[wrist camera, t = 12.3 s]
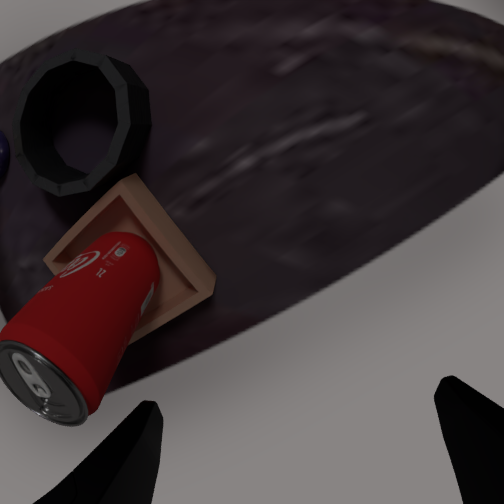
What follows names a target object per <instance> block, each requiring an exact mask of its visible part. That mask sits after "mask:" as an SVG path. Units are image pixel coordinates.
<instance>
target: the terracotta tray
mask: <svg viewBox="0 0 504 504" xmlns="http://www.w3.org/2000/svg"><path fill="white" fill-rule="evenodd" d="M117 231H119V232H132V233H135V234H137V235H139V236H141V237H143V238H144V239H145V240H146V241H148V243H149V244H150V245H151V246H152V247H153V249H154V251H155V253H156V255H157V258H158V264H159V269H160V280H159V284H158V287H157V289H156V291H155V293H154V295H153V297H152V299H151V300H150V302H149V304H148V306H147V308H146V310H145V312H144V314H143V316H142V318H141V320H140V322H139V324H138V326H137V328H136V329H135V331H134V333H133V335H132V337H131V339H130V341H129V343H128V345H130V344H131V343H133V342H135V341H136V340H138V339H140V338H141V337H143V336H145V335H146V334H148V333H150V332H151V331H153V330H155V329H156V328H158V327H160V326H161V325H163V324H165V323H166V322H168V321H170V320H171V319H173V318H175V317H176V316H178V315H180V314H181V313H183V312H185V311H186V310H188V309H190V308H191V307H193V306H195V305H196V304H198V303H200V302H201V301H203V300H204V299H206V298H208V297H209V296H211V295H212V294H213V290H214V285H215V281H216V277H217V276H216V274H215V273H214V272H213V271H212V269H211V268H210V267H209V266H208V265H207V263H206V262H205V261H204V260H203V258H202V257H201V256H200V255H199V253H198V252H197V251H196V250H195V248H194V247H193V246H192V245H191V243H190V242H189V241H188V240H187V238H186V237H185V236H184V235H183V233H182V232H181V231H180V230H179V228H178V227H177V226H176V224H175V223H174V222H173V221H172V219H171V218H170V217H169V216H168V214H167V213H166V212H165V210H164V209H163V208H162V207H161V205H160V204H159V203H158V201H157V200H156V199H155V197H154V196H153V195H152V194H151V192H150V191H149V190H148V188H147V187H146V186H145V184H144V183H143V182H142V180H141V179H140V178H139V176H138V175H137V174H136V173H134V174H132V175H130V176H128V177H125V178H123V179H121V180H120V181H119V182H117V183H116V184H115V185H114V186H113V187H112V188H111V189H110V190H109V191H108V192H107V193H106V194H105V195H104V196H103V197H101V198H100V199H99V200H98V201H97V202H96V203H95V204H94V205H93V206H92V207H91V208H90V209H89V210H88V211H87V212H86V213H85V214H84V215H83V216H82V217H81V218H80V219H79V220H78V221H77V222H76V223H75V224H74V226H73V227H72V228H71V229H70V230H69V231H68V232H67V233H66V234H65V235H64V236H63V237H62V238H61V239H60V241H59V242H58V243H57V244H56V245H55V246H54V247H53V248H52V249H51V251H50V252H49V253H48V254H47V255H46V256H45V257H44V259H43V261H44V262H45V263H46V265H47V266H48V267H49V268H50V270H51V271H52V272H53V273H54V275H55V276H56V275H57V274H58V273H59V272H60V271H61V270H62V269H64V268H65V267H66V266H67V265H68V264H69V263H70V262H71V261H72V260H74V259H75V258H76V257H77V256H78V255H79V254H80V253H82V252H83V251H84V250H85V249H86V248H87V247H88V246H90V245H91V244H92V243H93V242H94V241H96V240H97V239H98V238H99V237H101V236H102V235H104V234H106V233H109V232H117Z"/></svg>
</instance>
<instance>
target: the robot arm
mask: <svg viewBox="0 0 504 504" xmlns="http://www.w3.org/2000/svg"><path fill="white" fill-rule="evenodd" d="M434 402H435V405H436V409H437V413H438V417H439V422H440V426H441V430H442V434H443V438H444V441H445V444H446V447H447V450H448V453H449V456H450V459H451V462H452V466H453V469H454V472H455V475H456V479H457V482H458V486H459V489H460V493H461V497H462V501H463V504H504V408H502V407H501V406H499V405H498V404H496V403H495V402H493V401H492V400H490V399H489V398H487V397H486V396H484V395H482V394H481V393H479V392H478V391H477V390H475V389H474V388H472V387H470V386H469V385H467V384H466V383H464V382H462V381H461V380H460V379H458V378H457V377H455V376H447V377H444V378H443V379H441V381H440V383H439V385H438V388H437V390H436V392H435V394H434ZM162 432H163V416H162V414H161V412H160V409H159V407H158V404H157V403H156V402H155V401H146V400H144V401H142V402H141V403H140V404H139V405H138V406H137V407H136V408H135V409H134V410H133V411H132V412H131V413H130V414H129V415H128V416H127V417H126V418H125V419H124V420H123V421H122V422H121V423H120V424H119V425H118V426H117V427H116V428H115V429H114V430H113V431H112V432H111V433H110V434H109V435H108V436H107V437H106V438H105V439H104V440H103V441H102V442H101V443H100V444H99V445H98V446H97V447H96V448H95V449H94V450H93V451H92V452H91V453H90V454H89V455H88V456H87V457H86V458H85V459H84V460H83V461H82V462H81V463H80V464H79V465H78V466H77V467H76V468H75V469H74V470H73V471H72V472H71V473H70V474H68V475H67V477H65V478H64V479H63V480H62V481H61V482H60V483H59V484H58V485H57V486H55V487H54V488H53V489H52V490H51V491H49V492H48V493H47V494H46V495H44V496H43V497H41V498H40V499H39V500H37V501H36V502H34V503H33V504H151V502H152V497H153V493H154V488H155V483H156V478H157V474H158V469H159V464H160V453H161V442H162Z"/></svg>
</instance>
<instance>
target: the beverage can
mask: <svg viewBox="0 0 504 504" xmlns="http://www.w3.org/2000/svg"><path fill="white" fill-rule="evenodd" d="M159 280H160V269H159V264H158V258H157V255H156V253H155V251H154V249H153V247H152V246H151V245H150V244H149V243H148V241H146V240H145V239H144V238H143V237H141V236H139V235H137V234H135V233H132V232H119V231H117V232H109V233H106V234H104V235H102V236H101V237H99V238H98V239H97V240H96V241H94V242H93V243H92V244H91V245H90V246H88V247H87V248H86V249H85V250H84V251H83V252H82V253H80V254H79V255H78V256H77V257H76V258H75V259H74V260H72V261H71V262H70V263H69V264H68V265H67V266H66V267H65V268H64V269H62V270H61V271H60V272H59V273H58V274H57V275H56V276H55V277H54V278H53V279H52V280H50V281H49V282H48V283H47V284H46V285H45V286H44V287H43V288H42V289H41V290H40V291H39V292H38V293H37V294H36V295H35V296H34V297H33V298H32V299H31V300H30V301H29V302H28V303H27V304H26V305H25V306H24V307H23V308H22V309H21V310H20V311H19V312H18V313H17V314H16V315H15V316H14V317H13V318H12V319H11V320H10V321H9V322H8V323H7V324H6V325H5V327H4V328H3V329H2V331H1V333H0V377H1V379H2V380H3V382H4V384H5V385H6V386H7V387H8V389H9V390H10V391H11V392H12V394H13V395H14V396H15V397H16V398H17V399H18V400H19V401H20V402H22V403H23V404H24V405H25V406H26V407H28V408H29V409H30V410H32V411H33V412H35V413H36V414H38V415H39V416H41V417H43V418H45V419H47V420H49V421H51V422H53V423H56V424H59V425H63V426H79V425H81V424H83V423H84V422H85V421H86V420H87V417H88V416H89V415H91V414H93V413H94V412H95V411H96V410H97V409H98V407H99V405H100V403H101V401H102V399H103V396H104V394H105V392H106V390H107V388H108V385H109V383H110V381H111V379H112V377H113V375H114V372H115V370H116V368H117V366H118V364H119V362H120V360H121V358H122V356H123V354H124V352H125V350H126V348H127V346H128V343H129V341H130V339H131V337H132V335H133V333H134V331H135V329H136V328H137V326H138V324H139V322H140V320H141V318H142V316H143V314H144V312H145V310H146V308H147V306H148V304H149V302H150V300H151V299H152V297H153V295H154V293H155V291H156V289H157V287H158V284H159Z"/></svg>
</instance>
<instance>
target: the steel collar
mask: <svg viewBox="0 0 504 504" xmlns="http://www.w3.org/2000/svg"><path fill="white" fill-rule="evenodd" d="M98 68H99V69H100V70H101V71H102V73H103V74H104V76H105V77H106V78H107V80H108V81H109V82H110V84H111V85H112V86H113V88H114V89H115V96H116V107H117V118H118V126H117V128H116V131H115V134H114V136H113V139H112V142H111V145H110V148H109V151H108V154H107V157H106V158H105V159H104V160H103V161H102V162H101V163H100V164H99V165H98V166H97V167H96V168H95V169H94V170H93V171H92V172H91V173H89V174H86V173H84V172H81V171H79V170H77V169H74V168H72V167H70V166H67V165H66V164H65V162H64V161H63V159H62V158H61V157H60V155H59V154H58V152H57V151H56V149H55V148H54V146H53V140H52V131H51V122H50V120H51V117H52V114H53V110H54V107H55V104H56V101H57V98H58V96H59V94H60V93H61V92H62V91H63V90H64V89H65V88H66V86H67V85H68V84H69V83H70V82H71V81H72V80H73V79H74V78H75V77H76V76H77V75H80V74H83V73H86V72H89V71H92V70H95V69H98ZM151 125H152V122H151V113H150V102H149V90H148V89H147V87H146V86H145V85H144V83H143V82H142V81H141V79H140V78H139V77H138V75H137V74H136V73H135V71H134V70H133V69H132V68H131V66H130V65H128V64H126V63H124V62H121V61H119V60H116V59H114V58H111V57H109V56H107V55H102V54H98V53H94V52H90V51H85V50H81V49H77V48H75V49H72V50H70V51H67V52H65V53H63V54H60V55H58V56H56V57H53V58H51V59H49V60H47V61H45V62H44V63H43V64H42V65H41V66H40V68H39V69H38V70H37V71H36V72H35V74H34V75H33V76H32V77H31V78H30V80H29V81H28V82H27V83H26V85H25V86H24V87H23V88H22V91H21V95H20V98H19V101H18V104H17V108H16V111H15V115H14V119H13V123H12V126H13V136H14V145H15V153H16V158H17V160H18V161H19V163H20V165H21V166H22V168H23V170H24V171H25V173H26V174H27V176H28V177H29V179H30V181H31V182H32V184H34V185H36V186H38V187H40V188H42V189H44V190H46V191H48V192H50V193H52V194H54V195H56V196H58V197H60V196H65V195H70V194H75V193H80V192H85V191H90V190H92V189H94V188H96V187H99V186H101V185H103V184H105V183H107V182H109V181H112V180H114V179H115V178H116V177H117V176H118V175H119V174H121V173H122V172H123V171H124V170H125V169H126V168H127V167H128V166H129V165H131V164H132V163H133V162H134V161H135V160H136V159H137V158H139V155H140V153H141V150H142V147H143V145H144V142H145V140H146V137H147V134H148V132H149V130H150V127H151Z"/></svg>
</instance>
